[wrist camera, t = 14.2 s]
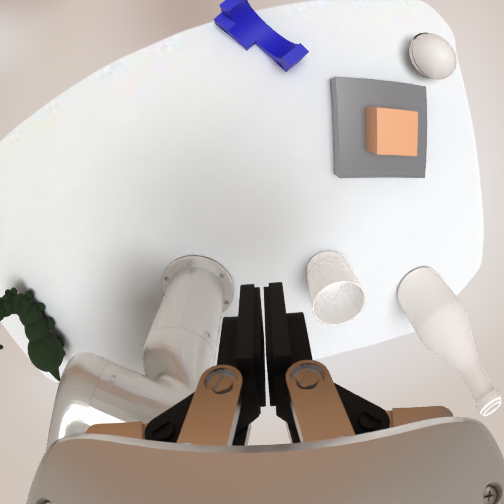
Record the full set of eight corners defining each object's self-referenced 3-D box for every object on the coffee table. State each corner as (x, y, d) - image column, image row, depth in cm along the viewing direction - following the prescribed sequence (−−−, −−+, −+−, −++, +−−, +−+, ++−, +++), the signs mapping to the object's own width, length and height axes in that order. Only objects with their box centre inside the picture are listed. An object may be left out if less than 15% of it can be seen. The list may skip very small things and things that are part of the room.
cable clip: (216, 25, 31) (210, 12, 26) (239, 5, 29) (237, -10, 24) (278, 78, 35) (282, 73, 30) (301, 59, 33) (309, 51, 28)
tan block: (395, 147, 38) (416, 156, 32) (359, 146, 39) (377, 154, 33) (395, 109, 36) (417, 111, 30) (358, 106, 36) (376, 107, 30)
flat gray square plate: (415, 173, 40) (424, 177, 37) (334, 173, 41) (339, 177, 38) (416, 86, 34) (425, 86, 31) (329, 78, 34) (335, 77, 32)
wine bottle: (420, 256, 47) (512, 379, 21) (443, 279, 49) (523, 391, 23) (386, 293, 51) (453, 428, 24) (412, 312, 53) (474, 431, 27)
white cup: (353, 276, 49) (371, 312, 40) (312, 293, 51) (322, 332, 42) (340, 239, 46) (358, 272, 37) (295, 258, 48) (304, 295, 39)
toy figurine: (15, 279, 53) (62, 360, 62) (-33, 320, 36) (30, 408, 45) (36, 271, 52) (85, 359, 61) (-17, 316, 34) (52, 413, 44)
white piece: (435, 40, 29) (461, 34, 23) (441, 82, 33) (468, 82, 26) (381, 31, 30) (403, 21, 24) (388, 76, 33) (412, 73, 27)
